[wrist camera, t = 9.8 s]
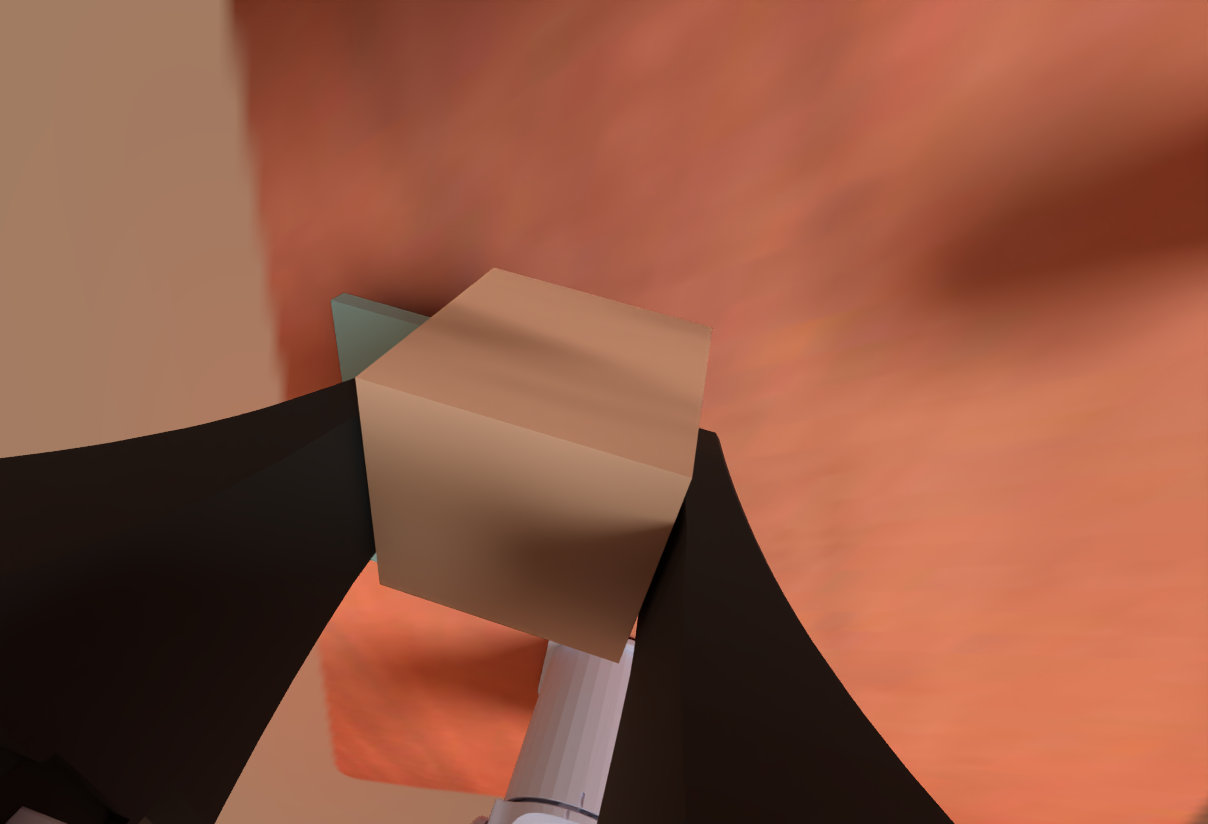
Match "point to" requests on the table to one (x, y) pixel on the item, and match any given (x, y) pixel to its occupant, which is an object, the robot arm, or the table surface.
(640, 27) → the table surface
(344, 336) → the teal board
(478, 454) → the brown block
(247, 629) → the robot arm
